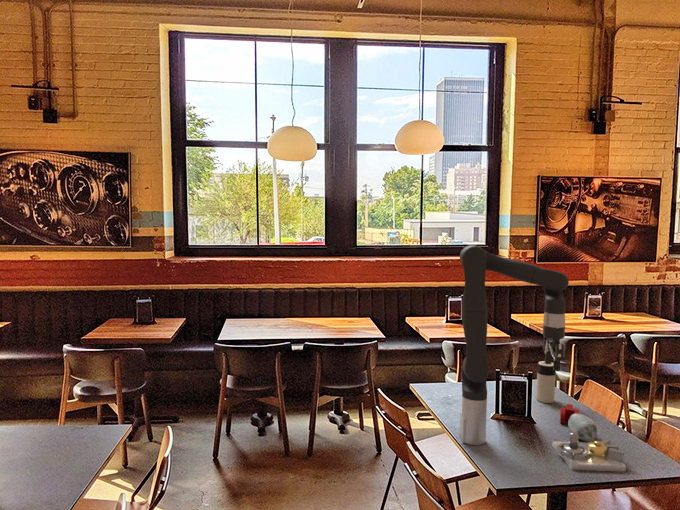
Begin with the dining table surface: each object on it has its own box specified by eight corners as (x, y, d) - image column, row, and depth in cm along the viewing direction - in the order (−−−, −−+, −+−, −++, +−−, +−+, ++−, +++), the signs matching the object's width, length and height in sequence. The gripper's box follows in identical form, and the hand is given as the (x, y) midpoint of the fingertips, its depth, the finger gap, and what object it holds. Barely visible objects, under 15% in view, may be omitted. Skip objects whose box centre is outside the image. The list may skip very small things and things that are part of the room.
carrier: (568, 469, 176) (568, 451, 175) (549, 446, 194) (549, 430, 193) (629, 471, 175) (630, 454, 174) (605, 448, 193) (606, 432, 192)
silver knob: (567, 456, 181) (568, 436, 181) (560, 448, 188) (561, 429, 187) (586, 456, 181) (586, 437, 181) (578, 448, 187) (579, 430, 187)
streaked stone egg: (606, 437, 195) (592, 412, 197) (582, 447, 195) (569, 422, 198) (595, 432, 208) (582, 408, 210) (573, 441, 208) (560, 418, 211)
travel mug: (557, 403, 240) (558, 365, 239) (539, 403, 240) (541, 365, 239) (550, 397, 248) (551, 361, 247) (533, 397, 248) (535, 360, 247)
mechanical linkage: (578, 428, 212) (579, 416, 212) (560, 425, 215) (560, 413, 215) (578, 415, 227) (578, 403, 226) (560, 412, 230) (560, 401, 229)
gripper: (537, 320, 199) (535, 361, 200) (550, 328, 185) (548, 372, 186) (557, 321, 198) (555, 362, 200) (572, 328, 184) (570, 373, 185)
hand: (552, 367), depth 193 cm, fingers open, 8 cm apart
